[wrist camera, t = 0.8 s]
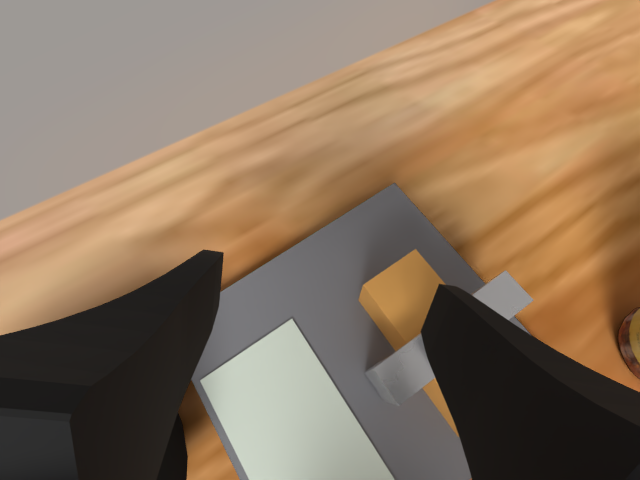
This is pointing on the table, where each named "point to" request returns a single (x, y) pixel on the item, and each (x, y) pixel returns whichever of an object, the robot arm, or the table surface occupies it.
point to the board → (327, 358)
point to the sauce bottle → (631, 341)
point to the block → (405, 309)
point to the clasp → (411, 360)
